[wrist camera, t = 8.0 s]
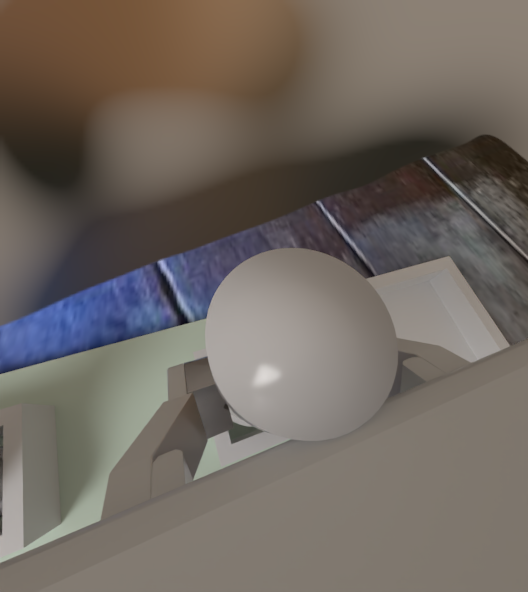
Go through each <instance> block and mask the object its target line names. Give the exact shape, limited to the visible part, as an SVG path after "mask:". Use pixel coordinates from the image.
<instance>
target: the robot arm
mask: <svg viewBox="0 0 528 592" xmlns="http://www.w3.org/2000/svg"><path fill="white" fill-rule="evenodd" d="M397 345H398V365H397V371H396V376H395V379H394V383H393V386H392V388H391V391H390V393H389V395H388V397H387V399H386V400H385V402H384V403H383V405H382V406H381V408H380V409H379V410H378V411H377V412H376V413H375V415H374V416H373V417H372V418H371V419H370V420H368V421H367V422H366V423H364V424H363V425H362V426H361V427H359V428H357V429H355V430H354V431H352V432H350V433H348V434H345V435H342V436H340V437H337V438H333V439H327V440H322V441H302V440H294V439H291V440H288V441H286V442H284V443H281V444H279V445H277V446H274V447H272V448H270V449H267V450H265V451H263V452H260V453H258V454H255V455H253V456H251V457H248V458H246V459H244V460H241V461H239V462H237V463H234V464H232V465H230V466H227V467H225V468H222V469H220V470H218V471H215V472H213V473H211V474H208V475H206V476H204V477H201V478H199V479H197V480H194V481H193V479H194V476H195V474H196V471H197V468H198V466H199V463H200V460H201V458H202V455H203V452H204V450H205V447H206V444H207V442H208V440H207V439H209V438H211V437H214V436H216V435H218V434H221V433H223V432H226V431H228V430H230V429H233V428H234V426H233V422H232V418H231V414H230V410H229V407H228V405H227V404H226V403H225V401H224V400H223V398H222V397H221V395H220V393H219V391H218V389H217V387H216V385H215V383H214V380H213V377H212V374H211V370H210V365H209V361H208V356H206V357H203V358H200V359H196V360H193V361H189V362H186V363H184V364H183V363H182V364H179V365H176V366H173V367H170V368H168V370H167V378H168V401H165V402H163V403H162V405H161V406H160V407H159V409H158V410H157V411H156V413H155V414H154V415H153V417H152V418H151V419H150V421H149V422H148V423H147V424H146V426H145V427H144V428H143V430H142V431H141V432H140V434H139V435H138V436H137V438H136V439H135V440H134V442H133V443H132V444H131V446H130V447H129V448H128V450H127V451H126V452H125V453H124V455H123V456H122V457H121V459H120V460H119V461H118V463H117V464H116V465H115V467H114V468H113V469H112V471H111V472H110V473H109V478H108V484H107V489H106V494H105V499H104V504H103V509H102V515H101V520H100V521H98V522H95V523H93V524H91V525H88V526H86V527H84V528H81V529H79V530H77V531H74V532H72V533H69V534H67V535H65V536H62V537H60V538H58V539H55V540H53V541H51V542H48V543H46V544H44V545H41V546H39V547H37V548H34V549H32V550H29V551H27V552H25V553H22V554H20V555H18V556H15V557H13V558H11V559H8V560H6V561H4V562H1V563H0V592H528V339H526V340H523V341H521V342H519V343H516V344H514V345H512V346H509V347H507V348H504V349H502V350H500V351H497V352H495V353H493V354H490V355H488V356H486V357H483V358H481V359H479V360H476V361H474V362H472V363H471V362H469V361H467V360H465V359H463V358H462V357H460V356H458V355H456V354H454V353H452V352H451V351H449V350H447V349H445V348H443V347H441V346H439V345H433V344H428V343H422V342H417V341H412V340H406V339H401V338H397Z"/></svg>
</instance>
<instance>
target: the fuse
mask: <svg viewBox="0 0 528 592" xmlns="http://www.w3.org/2000/svg"><path fill="white" fill-rule="evenodd" d="M2 509H3V446H0V518H2Z"/></svg>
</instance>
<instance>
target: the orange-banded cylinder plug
mask: <svg viewBox="0 0 528 592" xmlns="http://www.w3.org/2000/svg"><path fill="white" fill-rule="evenodd" d="M205 344H206V351H207V356H208V361H209V365H210V370H211V374H212V377H213V380H214V383H215V385H216V387H217V389H218V391H219V393H220V395H221V397H222V398H223V400H224V401H225V403H226V404H227V405H228V407H229V410H230V414H231V418H232V421H233V422H235V423H237V424H240V425H244V426H249V427H255V428H257V429H260V430H262V431H264V432H268V433H271V434H275V435H278V436H282V437H286V438H289V439H294V440H302V441H322V440H327V439H333V438H337V437H340V436H342V435H345V434H348V433H350V432H352V431H354V430H355V429H357V428H359V427H361V426H362V425H363V424H364V423H366V422H367V421H368V420H370V419H371V418H372V417H373V416H374V415H375V413H376V412H377V411H378V410H379V409H380V408H381V406H382V405H383V403H384V402H385V400H386V399H387V397H388V395H389V393H390V391H391V388H392V386H393V383H394V379H395V376H396V371H397V365H398V345H397V337H396V332H395V328H394V325H393V322H392V319H391V316H390V314H389V312H388V310H387V308H386V305H385V304H384V302H383V300H382V299H381V297H380V296H379V294H378V293H377V292H376V290H375V289H374V288H373V286H372V285H371V284H370V283H369V282H368V281H367V280H366V279H365V278H364V277H363V276H362V275H361V274H359V273H358V272H357V271H356V270H355V269H353V268H352V267H350V266H349V265H347V264H346V263H344V262H342V261H340V260H338V259H337V258H334V257H332V256H330V255H327V254H325V253H321V252H318V251H314V250H309V249H302V248H282V249H275V250H270V251H267V252H263V253H260V254H258V255H256V256H253V257H251V258H249V259H248V260H246V261H244V262H243V263H241V264H240V265H239V266H237V267H236V268H235V269H233V270H232V271H231V272H230V274H229V275H228V276H227V277H226V278H225V279H224V280H223V282H222V283H221V284H220V286H219V287H218V289H217V291H216V293H215V294H214V296H213V298H212V301H211V304H210V307H209V309H208V314H207V318H206V326H205Z"/></svg>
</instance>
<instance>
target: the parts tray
mask: <svg viewBox="0 0 528 592" xmlns="http://www.w3.org/2000/svg"><path fill="white" fill-rule="evenodd" d="M366 280H367V281H368V282H369V283H370V284H371V285H372V286H373V288H374V289H375V290H376V292H377V293H378V294H379V296H380V297H381V299H382V300H383V302H384V304H385V305H386V308H387V310H388V312H389V314H390V316H391V319H392V322H393V325H394V328H395V332H396V337H397V338H401V339H406V340H412V341H417V342H422V343H428V344H433V345H439V346H441V347H443V348H445V349H447V350H449V351H451V352H452V353H454V354H456V355H458V356H460V357H462V358H463V359H465V360H467V361H469V362H471V363H472V362H474V361H476V360H479V359H481V358H483V357H486V356H488V355H490V354H493V353H495V352H497V351H500V350H502V349H504V348H507V347H509V346H510V345H509V343H508V342H507V340H506V339H505V338H504V336H503V335H502V333H501V332H500V330H499V329H498V327H497V326H496V324H495V323H494V321H493V320H492V318H491V317H490V315H489V314H488V312H487V311H486V309H485V308H484V306H483V305H482V303H481V302H480V301H479V299H478V298H477V296H476V295H475V293H474V292H473V290H472V289H471V287H470V286H469V284H468V283H467V281H466V280H465V278H464V277H463V275H462V274H461V272H460V271H459V269H458V268H457V266H456V265H455V264H454V262H453V261H452V259H451V258H450V256H447V257H444V258H440V259H436V260H433V261H429V262H425V263H422V264H418V265H415V266H411V267H407V268H404V269H400V270H396V271H393V272H389V273H385V274H382V275H378V276H375V277H371V278H367V279H366Z"/></svg>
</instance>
